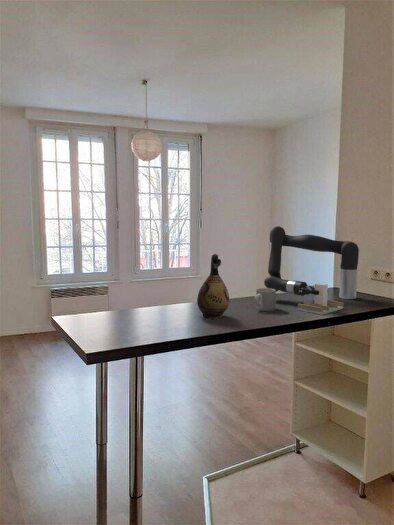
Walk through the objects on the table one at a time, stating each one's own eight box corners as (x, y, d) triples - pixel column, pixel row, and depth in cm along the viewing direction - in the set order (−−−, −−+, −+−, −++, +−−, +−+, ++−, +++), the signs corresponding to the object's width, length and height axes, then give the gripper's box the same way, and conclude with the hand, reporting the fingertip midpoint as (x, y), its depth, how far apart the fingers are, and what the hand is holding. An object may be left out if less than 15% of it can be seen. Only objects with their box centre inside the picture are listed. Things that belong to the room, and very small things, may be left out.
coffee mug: (267, 305, 217) (267, 287, 215) (279, 309, 208) (279, 290, 207) (246, 308, 210) (247, 289, 209) (258, 312, 201) (259, 292, 200)
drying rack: (319, 304, 220) (319, 298, 220) (343, 308, 209) (343, 302, 209) (297, 309, 207) (297, 303, 207) (321, 314, 196) (322, 308, 196)
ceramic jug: (231, 320, 186) (232, 256, 183) (198, 320, 185) (198, 256, 182) (226, 311, 203) (226, 252, 200) (195, 312, 202) (195, 252, 199)
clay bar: (318, 305, 211) (319, 283, 210) (327, 307, 207) (327, 284, 206) (314, 306, 209) (314, 283, 207) (322, 308, 205) (323, 285, 203)
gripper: (289, 282, 213) (315, 286, 201) (304, 279, 223) (331, 283, 210) (288, 296, 214) (315, 301, 202) (304, 292, 223) (330, 297, 211)
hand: (323, 291), depth 206 cm, fingers open, 8 cm apart
